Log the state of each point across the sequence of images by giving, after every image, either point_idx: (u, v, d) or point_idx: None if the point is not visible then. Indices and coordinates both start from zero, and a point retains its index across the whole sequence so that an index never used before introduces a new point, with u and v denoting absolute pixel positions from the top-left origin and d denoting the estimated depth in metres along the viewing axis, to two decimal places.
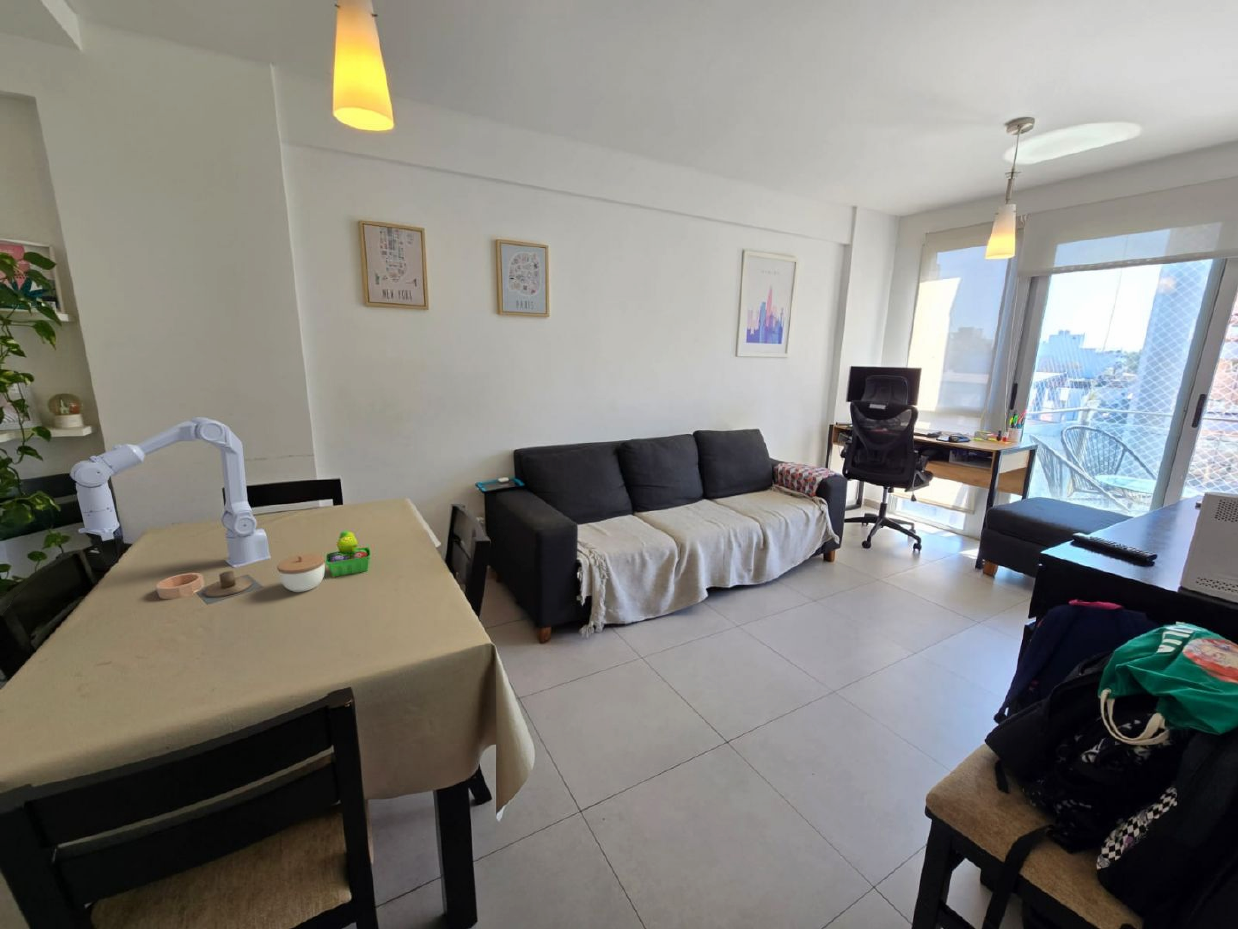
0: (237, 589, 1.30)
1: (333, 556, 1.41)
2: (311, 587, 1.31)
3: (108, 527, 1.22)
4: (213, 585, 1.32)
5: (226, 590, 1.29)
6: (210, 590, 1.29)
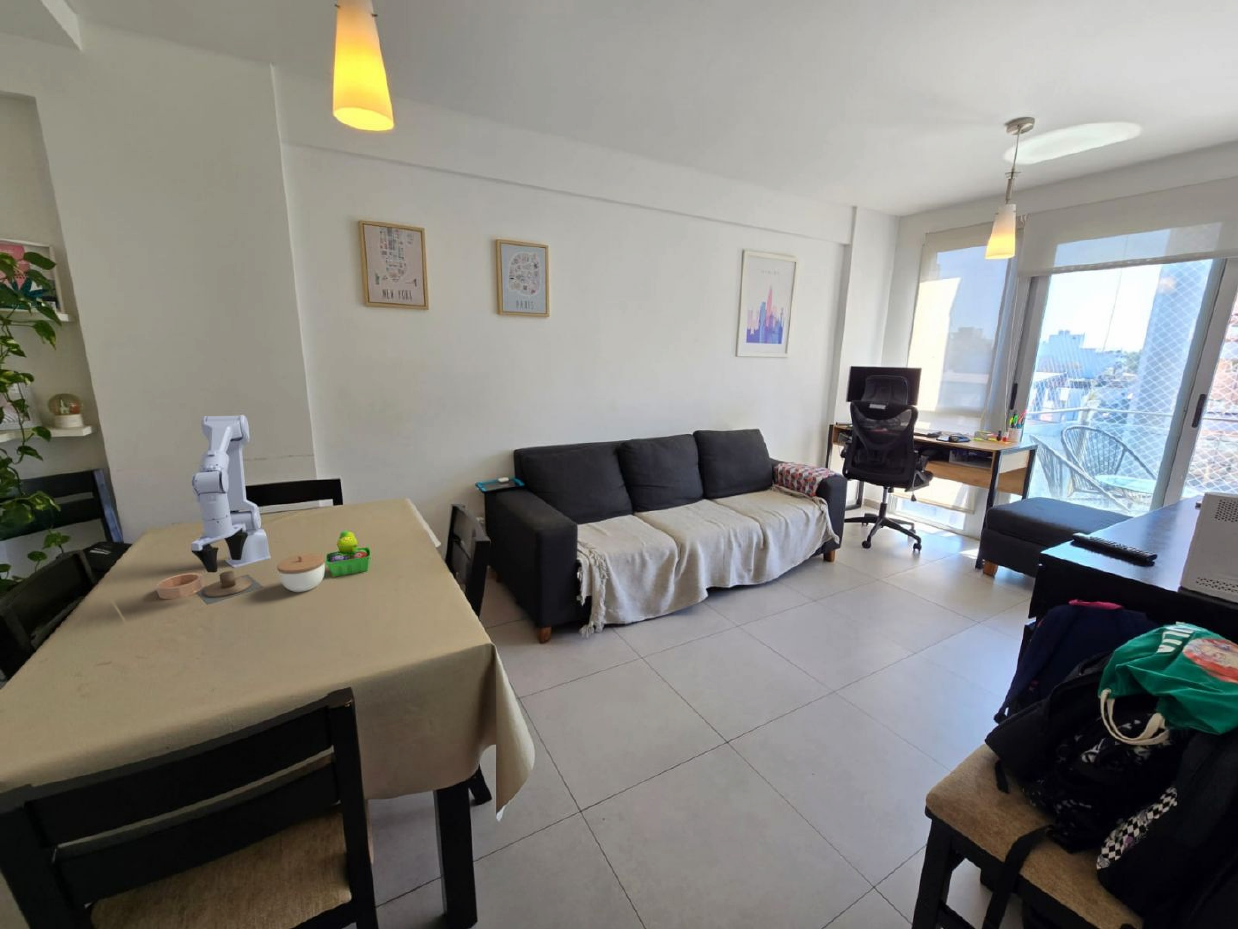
0: (237, 589, 1.30)
1: (333, 556, 1.41)
2: (311, 587, 1.31)
3: (213, 537, 1.25)
4: (213, 584, 1.32)
5: (227, 590, 1.29)
6: (210, 590, 1.29)
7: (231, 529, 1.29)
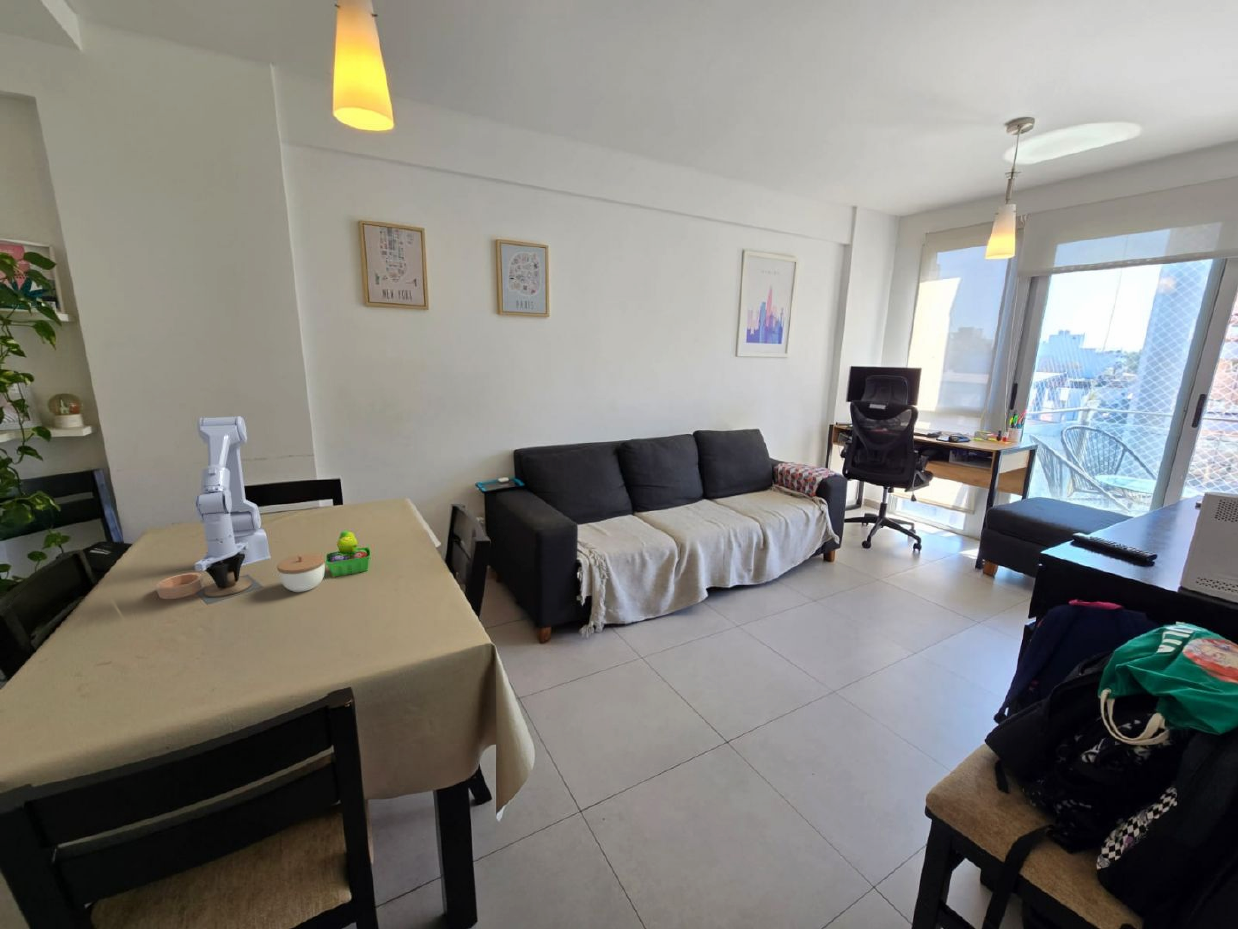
0: (237, 589, 1.30)
1: (333, 556, 1.41)
2: (311, 587, 1.31)
3: (216, 556, 1.27)
4: (213, 584, 1.32)
5: (227, 590, 1.29)
6: (210, 590, 1.29)
7: (234, 548, 1.30)
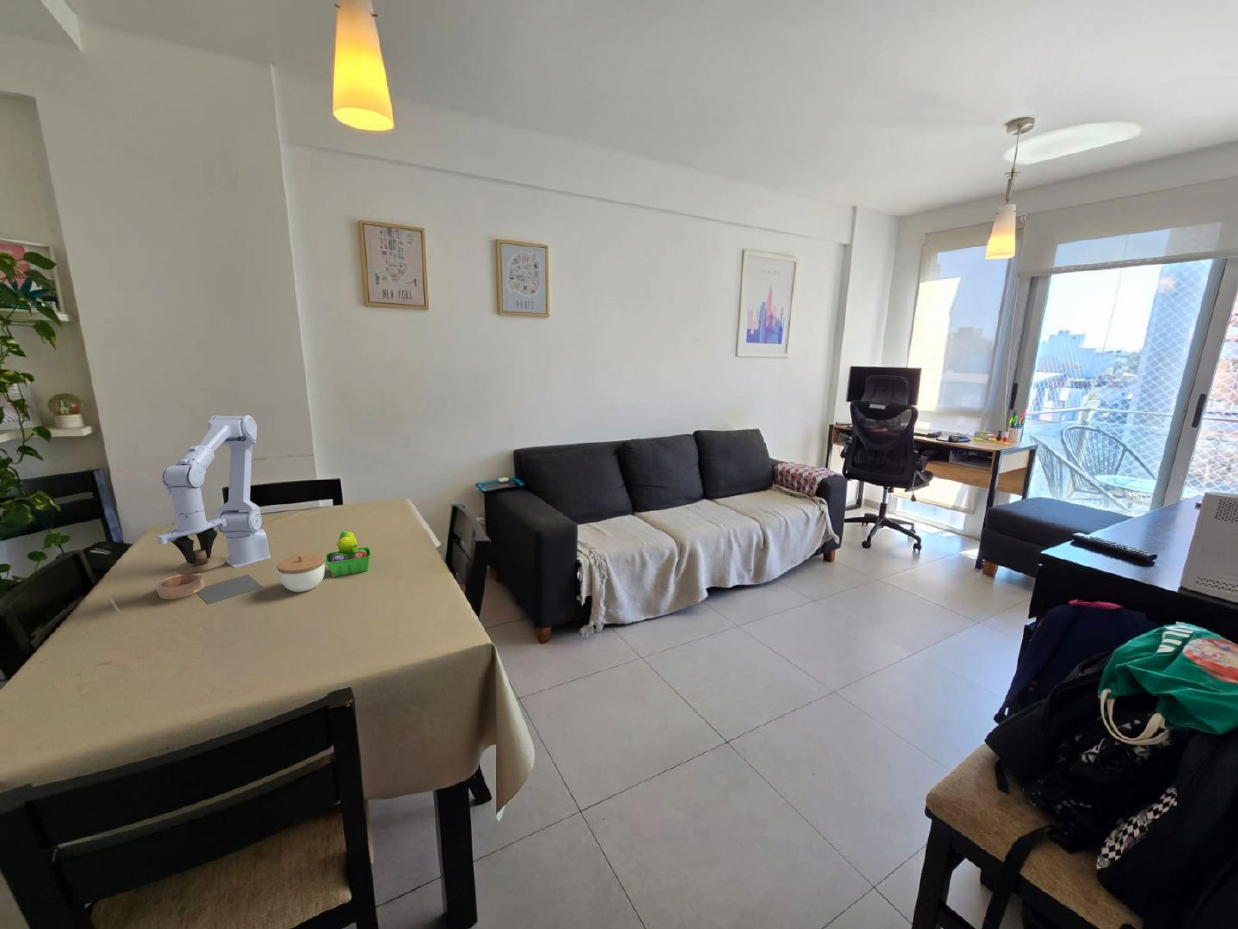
0: (205, 567, 1.26)
1: (333, 556, 1.41)
2: (311, 587, 1.31)
3: (182, 531, 1.24)
4: None
5: (195, 568, 1.26)
6: (181, 567, 1.27)
7: (203, 524, 1.27)
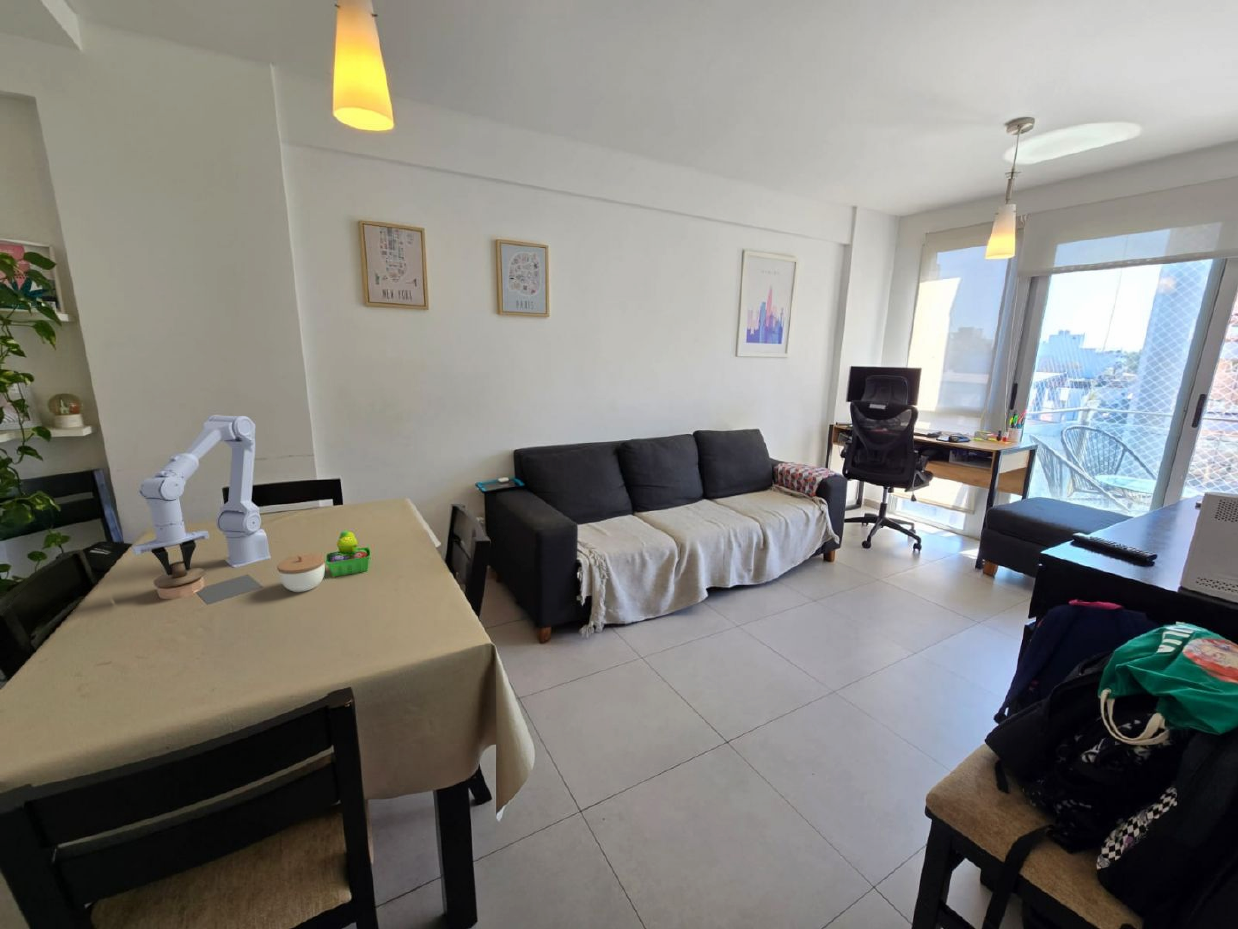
0: (178, 581, 1.26)
1: (333, 556, 1.41)
2: (311, 587, 1.31)
3: (158, 542, 1.24)
4: None
5: (171, 580, 1.26)
6: (161, 578, 1.28)
7: (178, 537, 1.26)
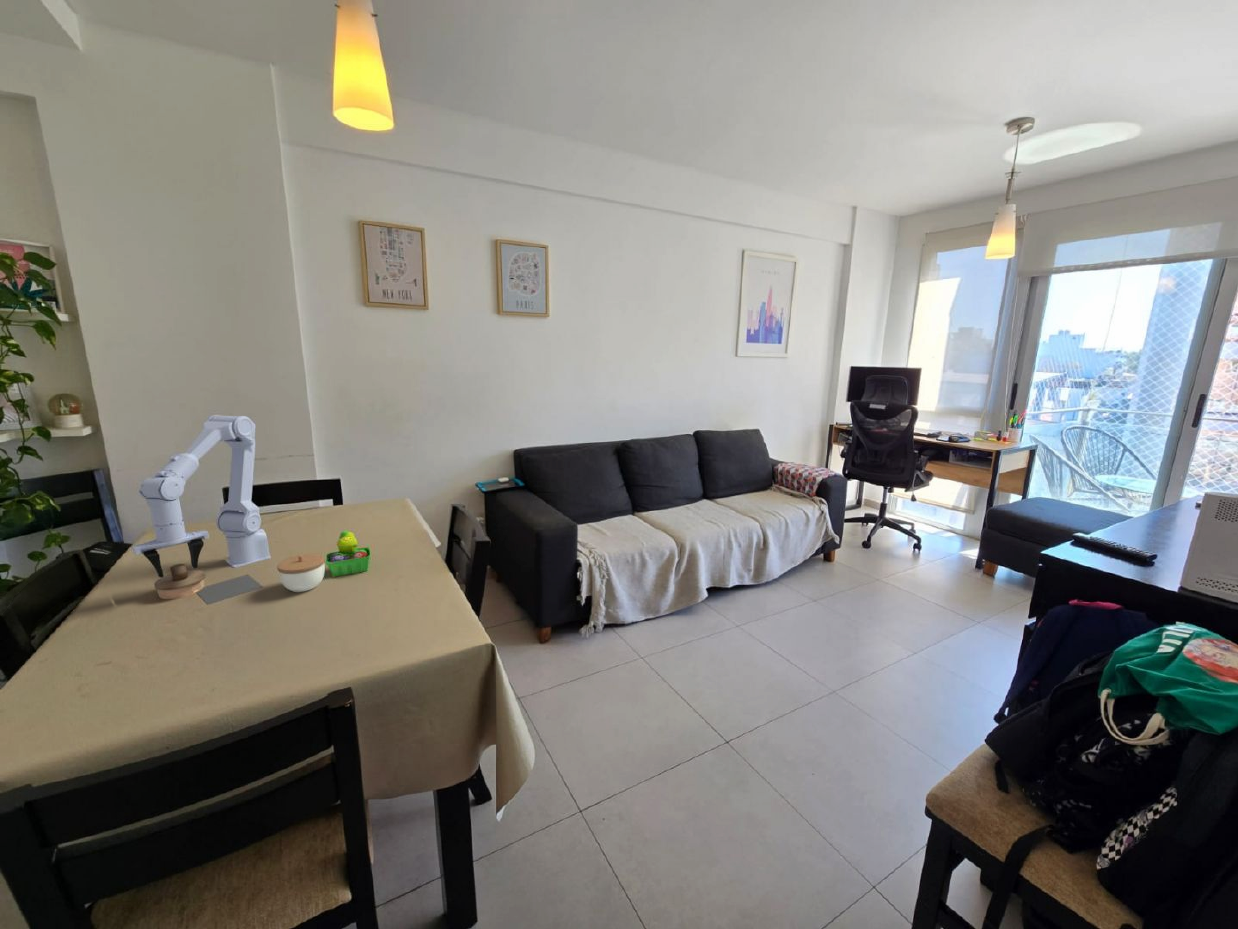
0: (179, 584, 1.26)
1: (333, 556, 1.41)
2: (311, 587, 1.31)
3: (158, 542, 1.24)
4: (172, 574, 1.31)
5: (171, 583, 1.26)
6: (161, 580, 1.28)
7: (178, 537, 1.26)
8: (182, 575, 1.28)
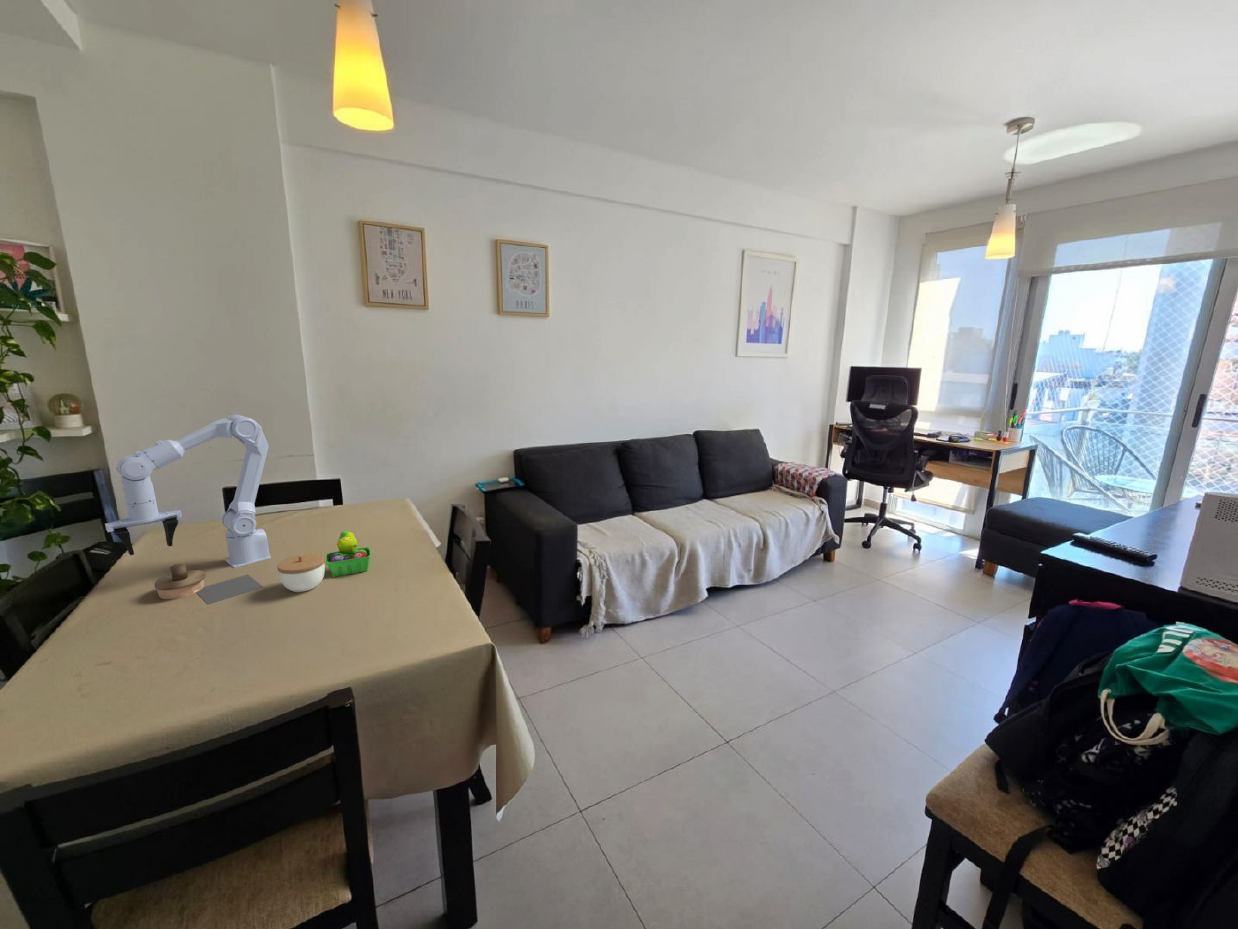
0: (179, 584, 1.26)
1: (333, 556, 1.41)
2: (311, 587, 1.31)
3: (130, 520, 1.27)
4: (172, 574, 1.31)
5: (171, 583, 1.26)
6: (161, 580, 1.28)
7: (151, 515, 1.29)
8: (182, 575, 1.28)
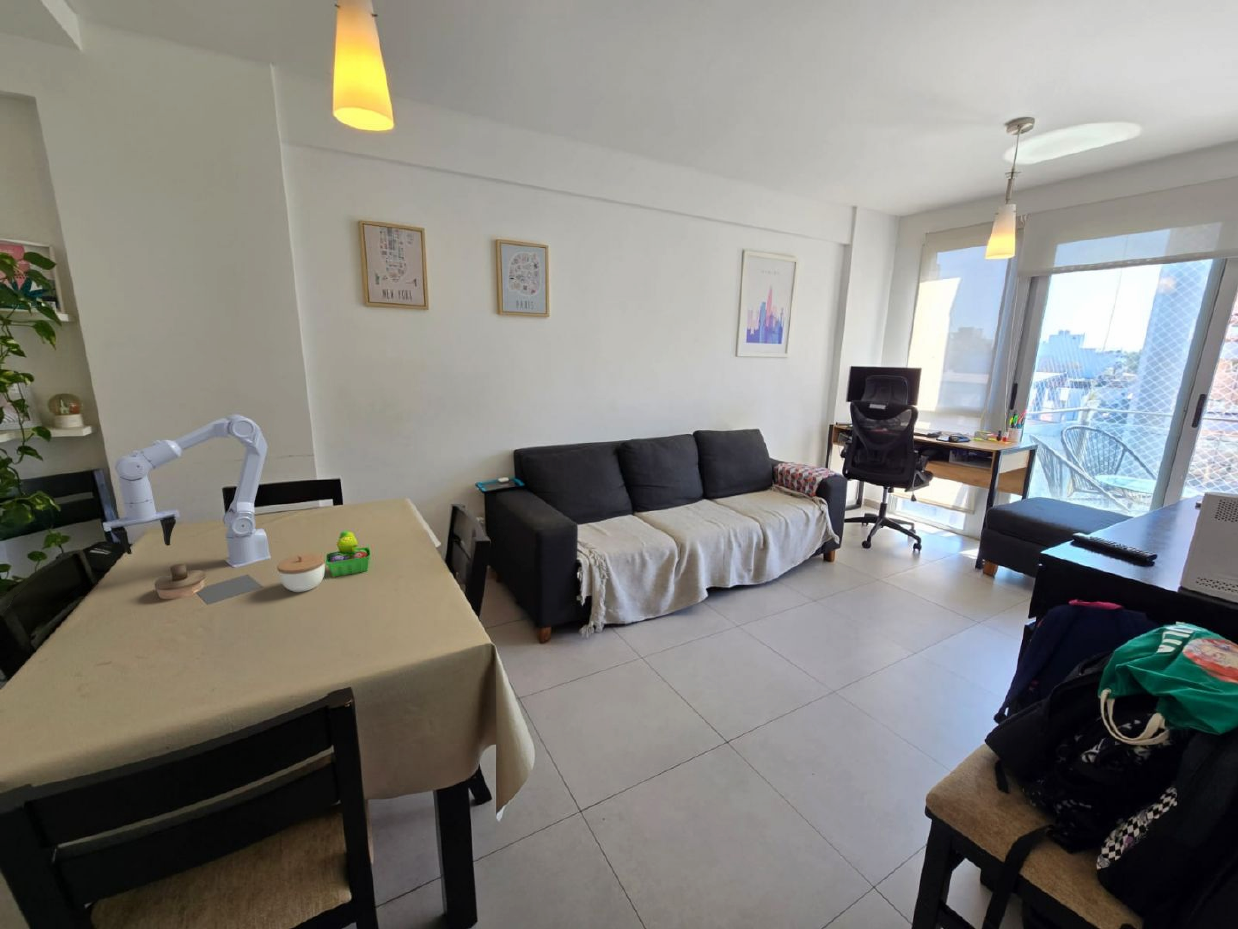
0: (179, 584, 1.26)
1: (333, 556, 1.41)
2: (311, 587, 1.31)
3: (128, 520, 1.28)
4: (172, 574, 1.31)
5: (171, 583, 1.26)
6: (161, 580, 1.28)
7: (148, 515, 1.30)
8: (182, 575, 1.28)
